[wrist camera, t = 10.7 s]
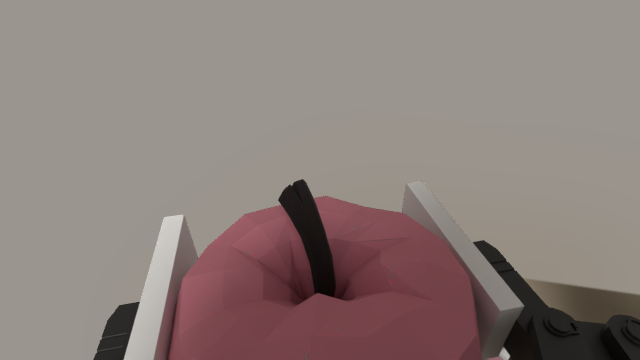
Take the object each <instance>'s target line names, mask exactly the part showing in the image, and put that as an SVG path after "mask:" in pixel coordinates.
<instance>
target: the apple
mask: <svg viewBox="0 0 640 360" xmlns="http://www.w3.org/2000/svg"><path fill="white" fill-rule="evenodd" d="M279 202H280V203H281V205H279V206H275V207H271V208H267V209H264V210H260V211H256V212H252V213H248V214H245V215H244V216H242V217H241V218H240V219H239V220H238V221H237V222H235V223H234V224H233V225H232V226H231V227H230V228H228V229H227V230H226V231H225V232H224V233H223V234H221V235H220V236H219V237H218V238H217V239H216V240H214V241H213V242H212V243H211V244H210V245H209V246H208V247H207V248H206V249H205V251H204V252H203V253H202V255H201V256H200V257H199V258H198V260H197V261H196V262H195V264H194V265H193V266H192V267H191V269H190V270H189V271H188V273H187V274H186V275H185V277H184V278H183V280H182V284H181V287H180V291H179V295H178V298H177V302H176V309H175V316H174V323H173V329H172V336H171V343H170V350H169V356H168V360H482V355H481V346H480V338H479V329H478V320H477V312H476V304H475V300H474V296H473V292H472V287H471V283H470V279H469V275H468V274H467V273H466V271H465V270H464V268H463V267H462V266H461V264H460V263H459V261H458V260H457V259H456V257H455V256H454V255H453V253H452V252H451V250H450V249H449V248H448V246H447V245H446V243H445V242H444V241H443V240H442V239H440V238H439V237H438V236H436V235H435V234H433V233H432V232H430V231H429V230H428V229H426V228H425V227H423V226H422V225H420V224H419V223H418V222H416V221H415V220H413V219H412V218H410V217H409V216H408V215H406V214H405V213H399V212H393V211H386V210H380V209H373V208H368V207H363V206H359V205H356V204H352V203H349V202H345V201H342V200H338V199H335V198H331V197H328V196H323V197H318V198H313V196H312V194H311V192H310V190H309V188H308V186H307V183H306V182H305V181H304V180H303V179H302V180H299V181H296V182H294V183H293V185H292V186H291V185H289V186H288V187H286V188H285V189H284V191H283V192H282V194H281V196H280V197H279Z"/></svg>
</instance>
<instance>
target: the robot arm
mask: <svg viewBox="0 0 640 360" xmlns="http://www.w3.org/2000/svg"><path fill="white" fill-rule="evenodd" d="M402 213H405V214H406V215H408V216H409V217H410V218H412V219H413V220H415V221H416V222H418V223H419V224H420V225H422V226H423V227H425V228H426V229H428V230H429V231H430V232H432V233H433V234H435V235H436V236H438V237H439V238H440V239H442V240H443V241H444V242H445V243H446V245H447V246H448V248H449V249H450V250H451V252H452V253H453V255H454V256H455V257H456V259H457V260H458V261H459V263H460V264H461V266H462V267H463V268H464V270H465V271H466V273H467V274H468V275H469V279H470V283H471V287H472V292H473V296H474V300H475V304H476V312H477V320H478V329H479V338H480V346H481V355H482V360H485V359H489V358H494V357H498V356H499V354H500V352H501V350H502V348H503V346H504V348H505V349H506V351H507V352H508V354H509V355H510V357H509V359H508V360H640V320H638V319H636V318H633V317H631V316H626V315H615V316H612V317H611V318H610V319H609V320H608V322H607V323H606V324H599V323H590V322H581V321H575V320H574V319H573V318H572V317H571V316H569V315H567V314H566V313H564V312H562V311H560V310H557V309H554V308H549V307H548V306H547V305H546V304H545V303H544V302H543V301H542V300H541V299H540V297H539V296H538V295H537V294H536V293H535V292H534V291H533V290H532V288H531V287H530V286H529V285H528V284H527V283H526V282H525V280H524V279H523V278H522V277H521V276H520V275H519V274H518V272H517V271H515V270H514V268H513V267H512V266H511V265H510V263H509V262H507V261H506V259H505V258H504V257H503V255H501V253H500V252H499V251H498V250H497V249H496V248H494V247H493V246H491V245H490V244H488V243H487V242H485V241H484V240H483V241H478V242H471V240H470V239H469V238H468V236H467V235H466V234H465V233H464V231H463V230H462V229H461V228H460V227H459V225H458V224H457V223H456V222H455V220H454V219H453V218H452V217H451V216H450V214H449V213H448V212H447V211H446V210H445V208H444V207H443V206H442V204H441V203H440V202H439V201H438V200H437V198H436V197H435V196H434V195H433V193H432V192H431V191H430V190H429V189H428V188H427V186H426V185H425V184H424V182H423V181H416V182H409V183H406V188H405V194H404V201H403V208H402ZM197 260H198V256H197V253H196V250H195V247H194V244H193V240H192V238H191V234H190V231H189V229H188V225H187V222H186V219H185V216H184V215H177V216H170V217H164V220H163V223H162V226H161V230H160V233H159V237H158V240H157V244H156V248H155V251H154V255H153V258H152V262H151V265H150V269H149V273H148V276H147V279H146V283H145V286H144V290H143V293H142V297H141V300H140V302H136V303H130V304H124V305H119V307H118V308H117V309H116V310H115V312H114V313H113V314H112V316H111V317H110V318H109V319H108V321H107V324H106V327H105V329H104V332H103V335H102V340H100V344H99V346H98V349H97V353H96V355H95V357H94V360H168V356H169V350H170V343H171V336H172V329H173V323H174V316H175V309H176V302H177V298H178V295H179V291H180V287H181V284H182V280H183V278H184V277H185V275H186V274H187V273H188V271H189V270H190V269H191V267H192V266H193V265H194V264H195V262H196V261H197Z"/></svg>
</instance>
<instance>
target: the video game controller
mask: <svg viewBox="0 0 640 360" xmlns="http://www.w3.org/2000/svg"><path fill="white" fill-rule="evenodd" d="M509 357H510V355H509V354H508V352H507V351H506V349H505V348H504V346H503V348H502V350H501V352H500V354H499V356H498V357H494V358H489V359H485V360H508V359H509Z"/></svg>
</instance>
